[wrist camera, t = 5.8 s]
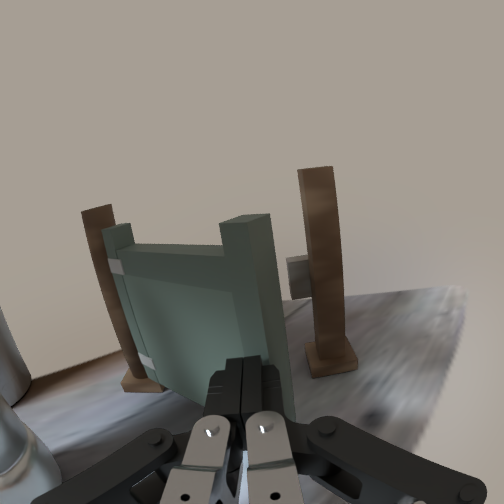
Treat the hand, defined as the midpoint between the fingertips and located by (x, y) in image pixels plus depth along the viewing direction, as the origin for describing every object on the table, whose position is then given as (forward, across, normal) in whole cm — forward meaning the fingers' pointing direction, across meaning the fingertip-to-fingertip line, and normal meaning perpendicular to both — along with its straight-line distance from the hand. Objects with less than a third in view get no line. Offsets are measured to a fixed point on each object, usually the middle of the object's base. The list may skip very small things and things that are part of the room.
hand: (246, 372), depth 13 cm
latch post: (+9, -6, +7) cm, 13 cm away
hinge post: (+9, +10, +7) cm, 15 cm away
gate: (+4, +4, +5) cm, 8 cm away
